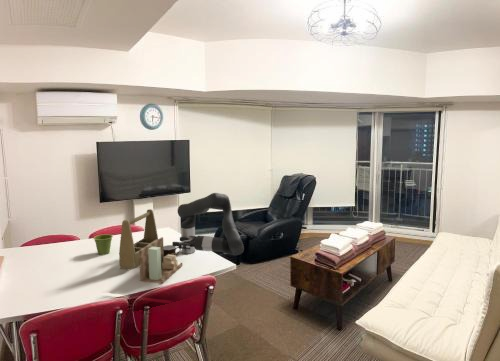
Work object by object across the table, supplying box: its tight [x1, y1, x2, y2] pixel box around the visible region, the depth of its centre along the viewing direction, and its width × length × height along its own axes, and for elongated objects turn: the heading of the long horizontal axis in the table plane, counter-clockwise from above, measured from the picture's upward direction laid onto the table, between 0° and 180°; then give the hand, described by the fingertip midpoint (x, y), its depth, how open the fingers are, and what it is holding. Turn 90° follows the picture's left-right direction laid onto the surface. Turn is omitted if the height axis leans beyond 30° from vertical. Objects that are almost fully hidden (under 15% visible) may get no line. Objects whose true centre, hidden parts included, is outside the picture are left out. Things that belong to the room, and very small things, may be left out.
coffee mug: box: [163, 244, 182, 257], centre depth 200 cm, size 12×9×10 cm
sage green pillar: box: [148, 247, 162, 280], centre depth 175 cm, size 4×5×17 cm
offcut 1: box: [163, 254, 177, 263], centre depth 190 cm, size 5×6×3 cm
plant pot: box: [93, 233, 114, 256], centre depth 216 cm, size 12×12×11 cm
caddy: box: [118, 209, 159, 270], centre depth 202 cm, size 29×11×30 cm, turn 168°
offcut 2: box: [162, 259, 179, 269], centre depth 191 cm, size 6×7×4 cm
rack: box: [139, 236, 183, 284], centre depth 181 cm, size 24×13×18 cm, turn 167°
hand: (176, 241), depth 170 cm, fingers open, 8 cm apart
